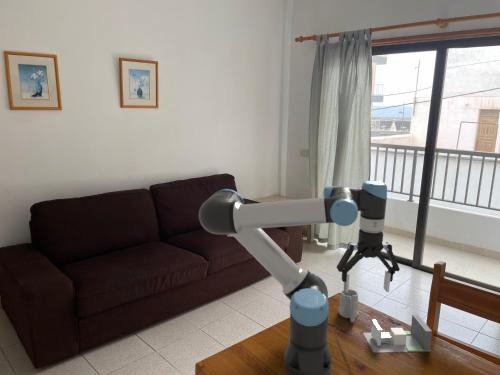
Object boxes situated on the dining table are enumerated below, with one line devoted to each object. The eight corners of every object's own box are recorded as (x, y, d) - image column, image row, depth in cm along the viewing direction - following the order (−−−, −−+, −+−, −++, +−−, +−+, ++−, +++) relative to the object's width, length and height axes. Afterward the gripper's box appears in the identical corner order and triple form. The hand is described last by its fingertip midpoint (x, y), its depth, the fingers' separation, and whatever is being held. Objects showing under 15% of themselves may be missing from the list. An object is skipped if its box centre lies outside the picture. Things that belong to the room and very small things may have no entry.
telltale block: (394, 345, 130) (395, 334, 129) (389, 338, 134) (390, 327, 133) (405, 344, 130) (406, 334, 129) (400, 337, 134) (401, 327, 133)
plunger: (377, 345, 128) (378, 329, 127) (371, 335, 134) (372, 319, 133) (392, 345, 129) (393, 329, 127) (385, 335, 134) (387, 319, 133)
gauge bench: (373, 355, 126) (375, 333, 125) (362, 335, 137) (364, 315, 135) (430, 354, 127) (432, 332, 125) (415, 334, 138) (417, 313, 136)
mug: (355, 310, 154) (357, 283, 151) (363, 327, 142) (365, 298, 140) (336, 310, 154) (337, 282, 151) (342, 327, 142) (344, 297, 140)
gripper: (335, 233, 119) (331, 296, 123) (414, 233, 120) (407, 295, 124) (329, 225, 126) (326, 285, 131) (404, 225, 127) (398, 284, 132)
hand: (366, 290), depth 127 cm, fingers open, 13 cm apart
